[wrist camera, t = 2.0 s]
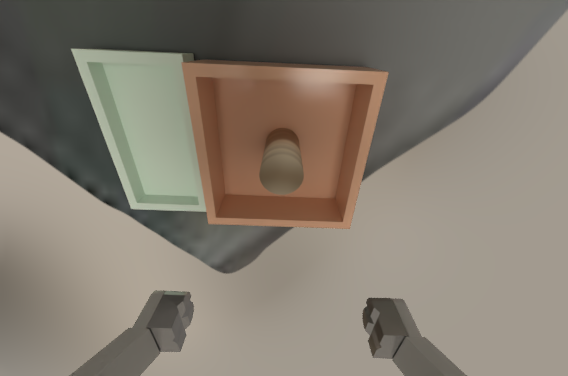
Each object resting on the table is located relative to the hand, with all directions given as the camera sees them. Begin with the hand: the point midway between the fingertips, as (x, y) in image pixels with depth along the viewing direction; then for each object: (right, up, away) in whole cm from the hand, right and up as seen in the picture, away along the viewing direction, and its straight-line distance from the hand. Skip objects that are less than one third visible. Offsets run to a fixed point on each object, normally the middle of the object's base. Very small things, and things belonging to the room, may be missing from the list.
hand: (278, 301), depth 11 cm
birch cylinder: (0, +11, +17) cm, 20 cm away
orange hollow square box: (0, +11, +18) cm, 21 cm away
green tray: (-14, +12, +18) cm, 25 cm away
